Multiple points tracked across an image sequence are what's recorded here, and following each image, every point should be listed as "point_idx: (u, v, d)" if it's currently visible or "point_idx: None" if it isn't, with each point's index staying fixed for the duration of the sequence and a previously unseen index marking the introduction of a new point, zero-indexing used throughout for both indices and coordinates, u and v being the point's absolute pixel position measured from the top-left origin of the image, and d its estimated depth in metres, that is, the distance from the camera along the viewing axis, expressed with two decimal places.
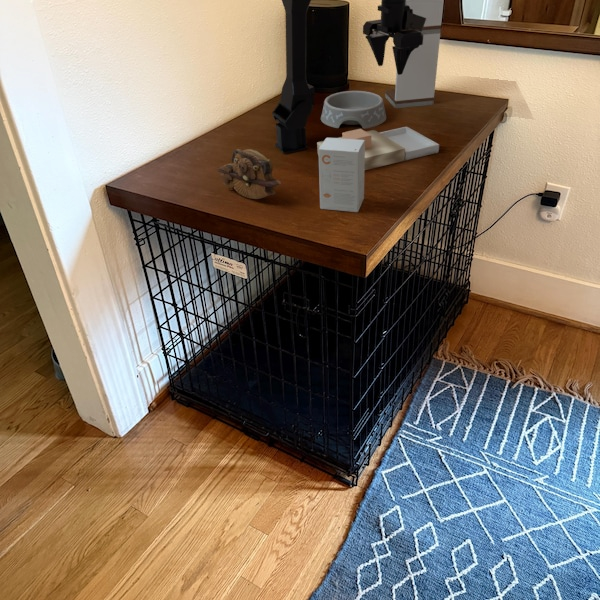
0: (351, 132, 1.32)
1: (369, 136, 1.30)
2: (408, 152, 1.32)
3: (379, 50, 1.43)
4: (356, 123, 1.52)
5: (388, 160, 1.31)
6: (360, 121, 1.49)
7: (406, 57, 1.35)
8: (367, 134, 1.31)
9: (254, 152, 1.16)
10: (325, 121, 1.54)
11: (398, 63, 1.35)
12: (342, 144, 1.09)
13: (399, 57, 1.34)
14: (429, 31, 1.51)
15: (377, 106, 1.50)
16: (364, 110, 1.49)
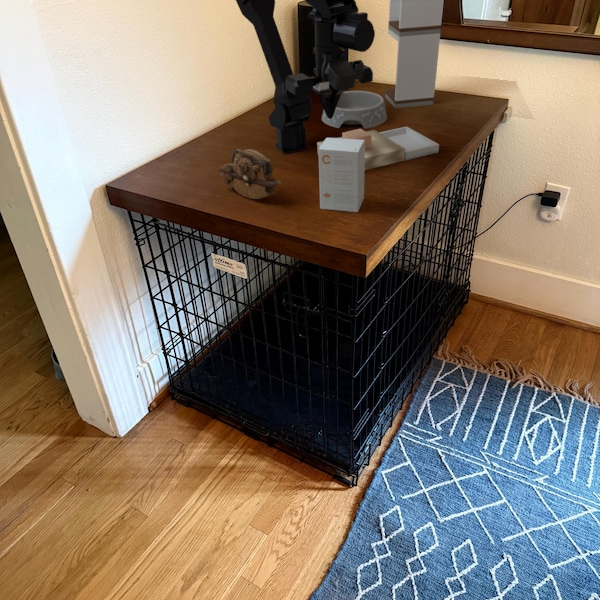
0: (351, 132, 1.32)
1: (369, 136, 1.30)
2: (408, 152, 1.32)
3: None
4: (357, 123, 1.52)
5: (388, 160, 1.31)
6: (361, 121, 1.50)
7: (325, 101, 1.23)
8: (367, 134, 1.31)
9: (255, 152, 1.16)
10: (326, 121, 1.54)
11: (322, 104, 1.25)
12: (342, 144, 1.09)
13: (320, 97, 1.24)
14: (429, 31, 1.51)
15: (378, 106, 1.50)
16: (365, 110, 1.49)
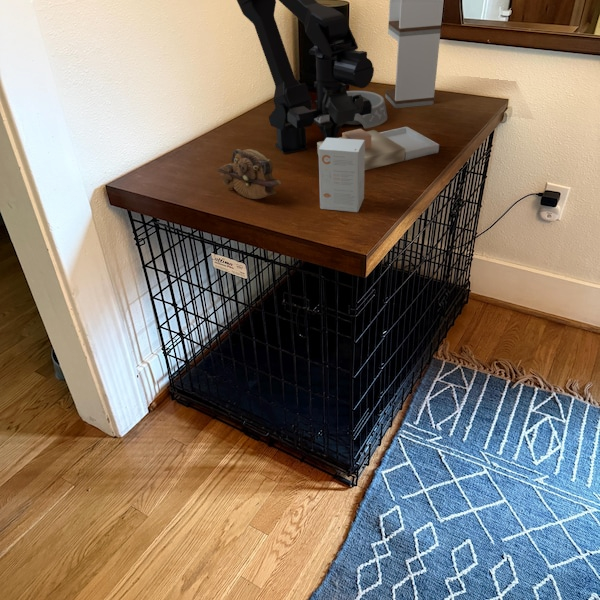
0: (351, 132, 1.32)
1: (369, 136, 1.30)
2: (408, 152, 1.32)
3: (330, 131, 1.29)
4: (357, 123, 1.52)
5: (388, 160, 1.31)
6: (362, 121, 1.50)
7: (325, 132, 1.27)
8: (367, 134, 1.31)
9: (254, 151, 1.16)
10: None
11: (322, 134, 1.29)
12: (342, 144, 1.09)
13: (320, 128, 1.28)
14: (429, 31, 1.51)
15: (378, 106, 1.50)
16: None
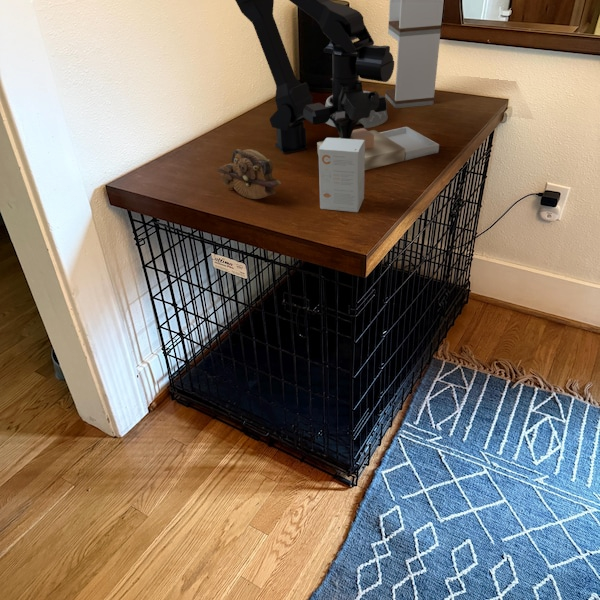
0: (354, 131, 1.32)
1: (372, 135, 1.31)
2: (408, 152, 1.32)
3: None
4: (358, 123, 1.52)
5: (388, 160, 1.31)
6: (362, 121, 1.50)
7: (341, 129, 1.28)
8: (370, 133, 1.31)
9: (254, 152, 1.16)
10: None
11: None
12: (342, 144, 1.09)
13: (336, 125, 1.29)
14: (429, 31, 1.51)
15: None
16: None
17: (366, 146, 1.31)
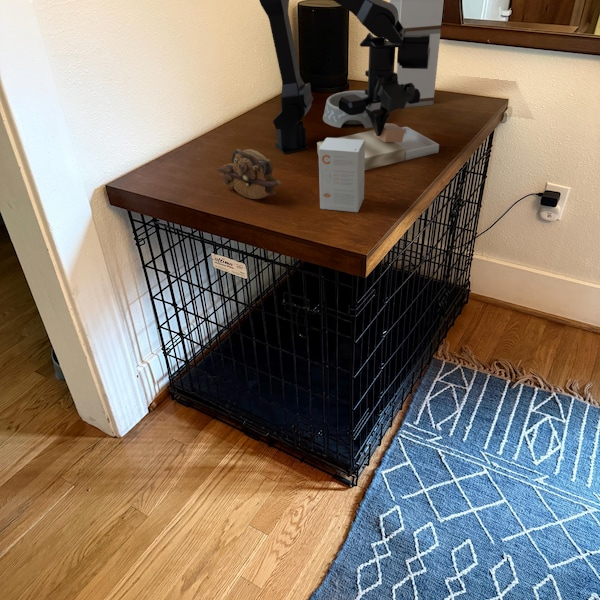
0: (385, 124, 1.35)
1: (403, 130, 1.33)
2: (408, 152, 1.32)
3: None
4: (358, 123, 1.52)
5: (388, 160, 1.31)
6: (362, 121, 1.50)
7: (375, 120, 1.31)
8: (401, 128, 1.34)
9: (254, 152, 1.16)
10: (327, 121, 1.54)
11: (371, 122, 1.33)
12: (342, 144, 1.09)
13: (370, 116, 1.32)
14: (429, 31, 1.51)
15: None
16: None
17: (396, 139, 1.34)
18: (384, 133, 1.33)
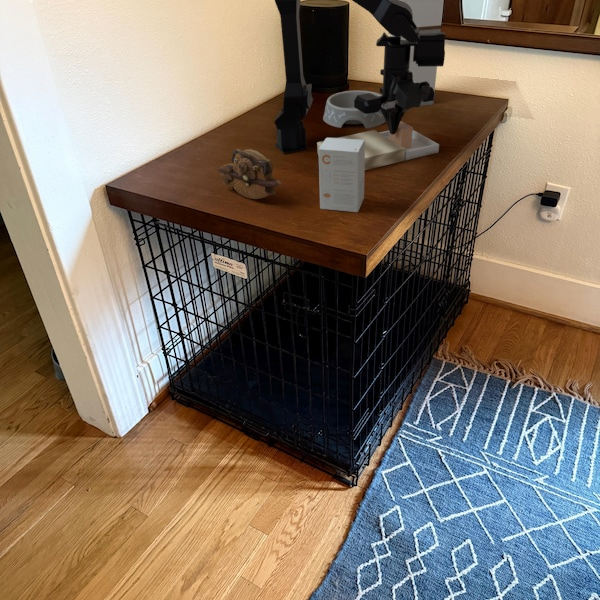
0: None
1: (410, 145, 1.37)
2: (408, 152, 1.32)
3: None
4: (359, 123, 1.52)
5: (388, 160, 1.31)
6: (363, 121, 1.50)
7: (389, 119, 1.32)
8: None
9: (254, 152, 1.16)
10: (327, 121, 1.54)
11: (386, 121, 1.34)
12: (342, 144, 1.09)
13: (384, 115, 1.33)
14: (429, 31, 1.51)
15: None
16: None
17: (403, 141, 1.35)
18: (406, 127, 1.35)
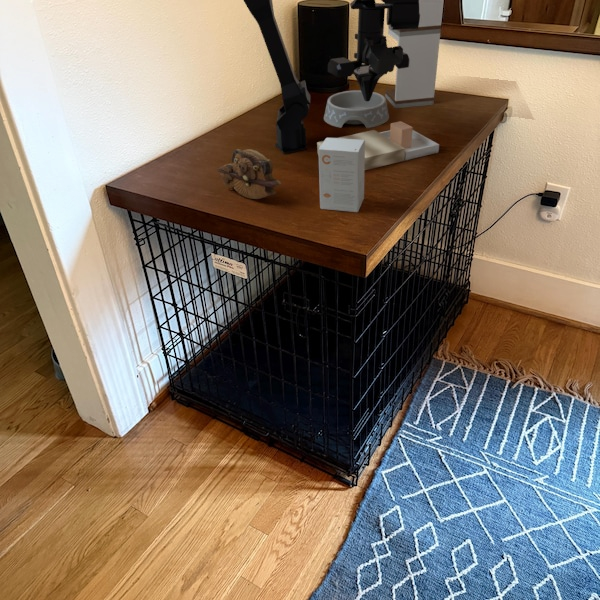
0: None
1: (410, 145, 1.37)
2: (408, 152, 1.32)
3: None
4: (359, 123, 1.52)
5: (388, 160, 1.31)
6: (363, 121, 1.50)
7: (363, 85, 1.31)
8: None
9: (254, 152, 1.16)
10: (328, 120, 1.54)
11: (360, 87, 1.33)
12: (342, 144, 1.09)
13: (358, 81, 1.32)
14: (429, 31, 1.51)
15: (380, 106, 1.50)
16: (367, 110, 1.49)
17: (403, 141, 1.35)
18: (405, 127, 1.35)
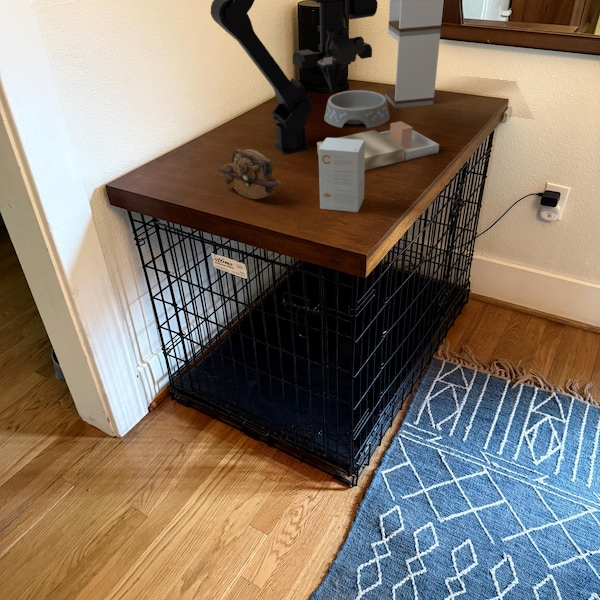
0: None
1: (410, 145, 1.37)
2: (408, 152, 1.32)
3: None
4: (360, 122, 1.52)
5: (388, 160, 1.31)
6: (364, 120, 1.50)
7: (328, 75, 1.35)
8: None
9: (254, 151, 1.16)
10: (329, 120, 1.54)
11: None
12: (342, 144, 1.09)
13: (323, 72, 1.36)
14: (429, 31, 1.51)
15: (381, 105, 1.51)
16: (368, 109, 1.49)
17: (403, 141, 1.35)
18: (405, 127, 1.35)
